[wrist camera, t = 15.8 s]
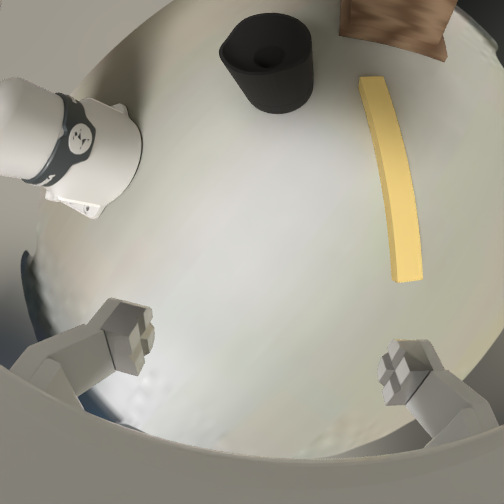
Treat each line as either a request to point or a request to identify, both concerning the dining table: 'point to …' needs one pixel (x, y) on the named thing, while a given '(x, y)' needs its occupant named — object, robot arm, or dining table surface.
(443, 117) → the dining table surface
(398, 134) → the mustard rod
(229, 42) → the pen holder
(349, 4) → the walnut pedestal
